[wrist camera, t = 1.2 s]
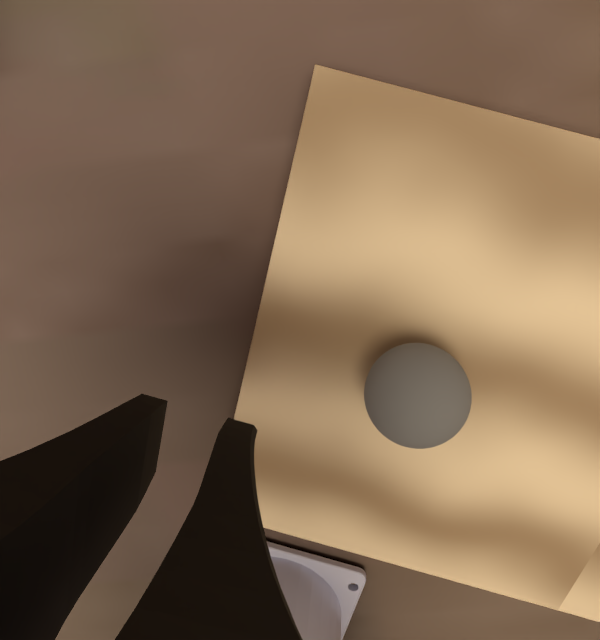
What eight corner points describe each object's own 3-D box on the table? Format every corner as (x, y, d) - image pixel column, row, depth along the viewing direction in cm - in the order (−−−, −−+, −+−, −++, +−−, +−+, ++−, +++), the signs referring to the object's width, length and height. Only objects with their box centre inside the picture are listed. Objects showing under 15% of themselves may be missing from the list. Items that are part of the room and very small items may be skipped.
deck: (753, 623, 23) (797, 677, 21) (226, 476, 24) (212, 513, 21) (1054, 267, 17) (1167, 288, 14) (321, 74, 17) (315, 64, 15)
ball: (441, 423, 19) (458, 483, 15) (352, 399, 19) (350, 453, 16) (474, 342, 17) (501, 389, 14) (379, 316, 18) (384, 357, 14)
